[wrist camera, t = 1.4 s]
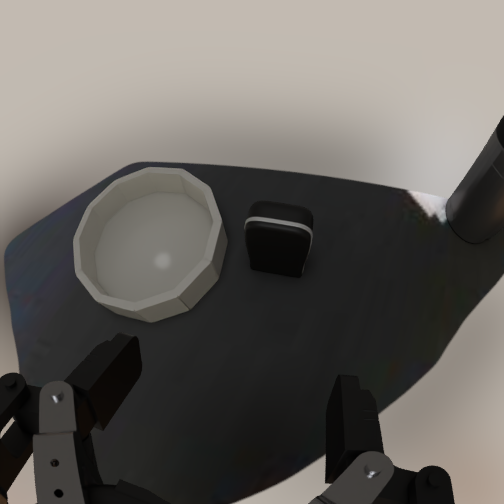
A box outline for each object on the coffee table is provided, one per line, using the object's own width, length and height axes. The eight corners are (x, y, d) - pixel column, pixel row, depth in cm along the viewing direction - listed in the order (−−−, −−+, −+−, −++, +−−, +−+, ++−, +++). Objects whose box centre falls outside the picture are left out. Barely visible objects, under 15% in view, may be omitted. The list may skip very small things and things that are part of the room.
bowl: (238, 197, 45) (235, 173, 40) (206, 334, 36) (195, 325, 31) (120, 186, 47) (107, 165, 42) (75, 302, 39) (54, 289, 34)
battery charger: (307, 252, 40) (318, 202, 30) (302, 279, 39) (314, 235, 29) (254, 243, 41) (249, 191, 31) (248, 269, 40) (240, 223, 30)
